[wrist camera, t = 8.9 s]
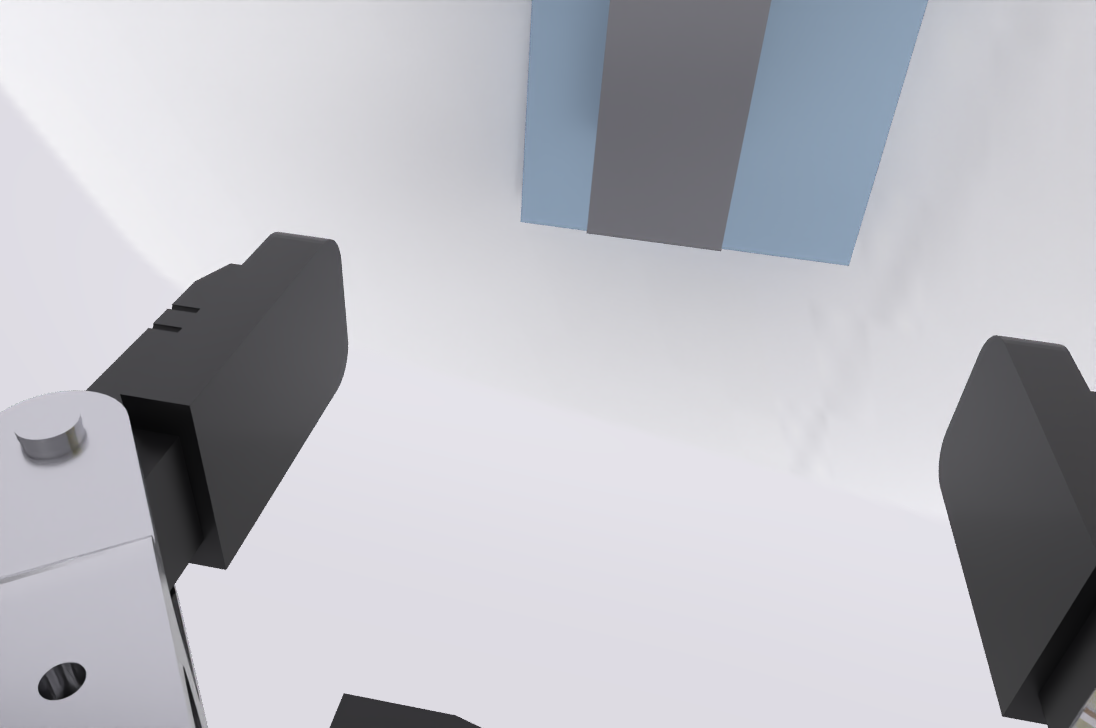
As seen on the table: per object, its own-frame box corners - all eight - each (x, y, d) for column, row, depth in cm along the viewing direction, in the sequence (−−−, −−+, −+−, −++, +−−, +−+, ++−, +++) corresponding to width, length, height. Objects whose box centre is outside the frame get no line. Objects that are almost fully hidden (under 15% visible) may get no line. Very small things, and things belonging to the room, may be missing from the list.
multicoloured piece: (978, -233, 20) (1091, -220, 14) (842, 239, 27) (876, 387, 21) (557, -267, 21) (487, -268, 15) (530, 198, 28) (475, 328, 22)
